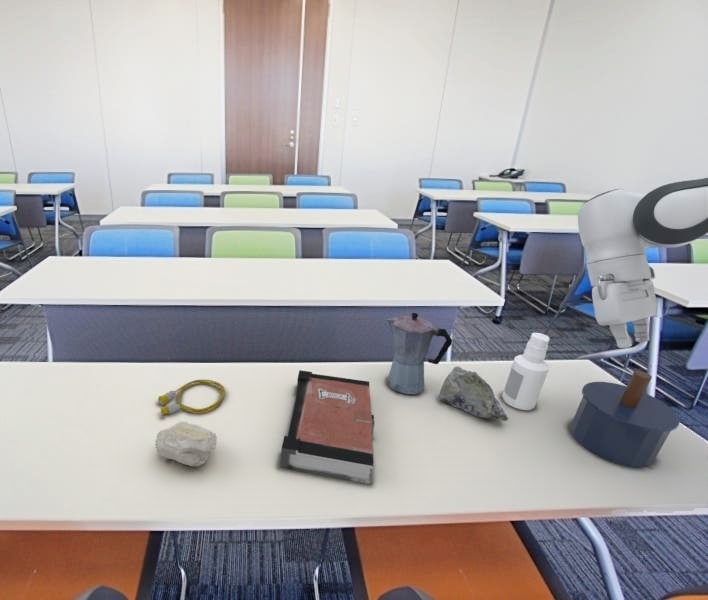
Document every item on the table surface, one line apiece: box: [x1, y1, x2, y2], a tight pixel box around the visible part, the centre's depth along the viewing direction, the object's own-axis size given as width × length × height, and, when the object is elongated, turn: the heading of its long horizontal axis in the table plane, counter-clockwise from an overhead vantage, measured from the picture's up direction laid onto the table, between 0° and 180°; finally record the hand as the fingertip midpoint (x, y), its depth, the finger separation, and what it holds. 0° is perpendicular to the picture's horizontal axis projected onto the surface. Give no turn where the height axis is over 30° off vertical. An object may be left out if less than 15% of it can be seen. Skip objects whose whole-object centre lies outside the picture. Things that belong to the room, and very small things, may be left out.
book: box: [280, 369, 375, 485], centre depth 85 cm, size 26×18×5 cm
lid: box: [581, 370, 680, 432], centre depth 78 cm, size 15×15×8 cm
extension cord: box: [157, 379, 226, 416], centre depth 95 cm, size 12×16×2 cm
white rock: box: [154, 421, 217, 467], centre depth 77 cm, size 12×8×10 cm
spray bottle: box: [501, 332, 551, 411], centre depth 92 cm, size 7×7×18 cm
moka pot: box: [386, 312, 453, 395], centre depth 97 cm, size 10×15×20 cm, turn 55°
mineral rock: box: [438, 365, 509, 422], centre depth 90 cm, size 13×11×10 cm
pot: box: [569, 396, 672, 468], centre depth 82 cm, size 14×14×10 cm
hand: (634, 344), depth 76 cm, fingers open, 8 cm apart
